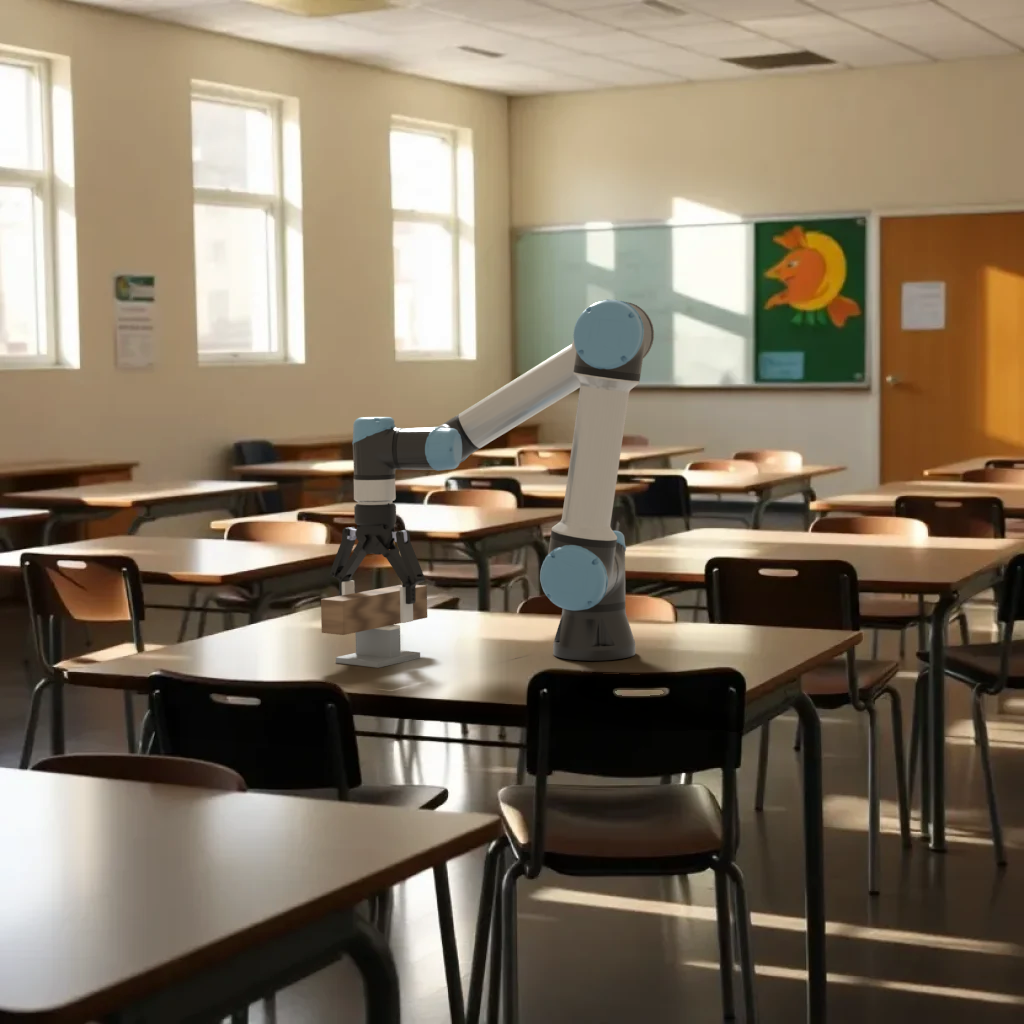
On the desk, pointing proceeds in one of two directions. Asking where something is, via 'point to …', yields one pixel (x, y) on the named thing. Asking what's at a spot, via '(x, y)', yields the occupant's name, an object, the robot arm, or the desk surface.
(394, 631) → the fulcrum
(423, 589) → the brown long rectangular block
